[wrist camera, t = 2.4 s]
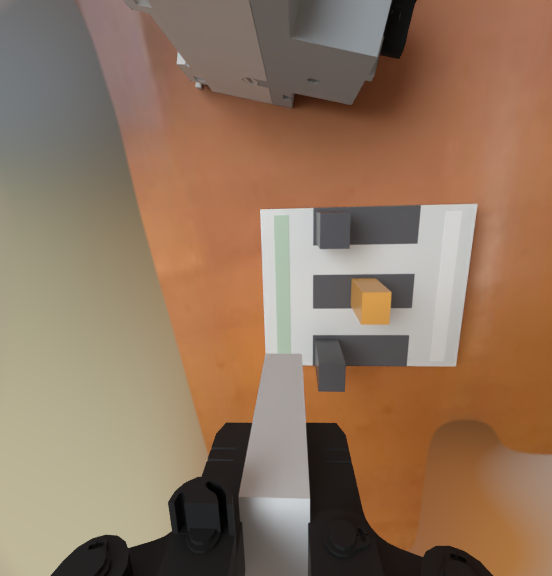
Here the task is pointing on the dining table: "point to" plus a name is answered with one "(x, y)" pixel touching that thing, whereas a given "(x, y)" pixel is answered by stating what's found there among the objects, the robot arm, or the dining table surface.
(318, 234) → the block
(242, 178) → the dining table surface
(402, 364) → the panel
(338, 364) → the block
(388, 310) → the block
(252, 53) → the circuit breaker
